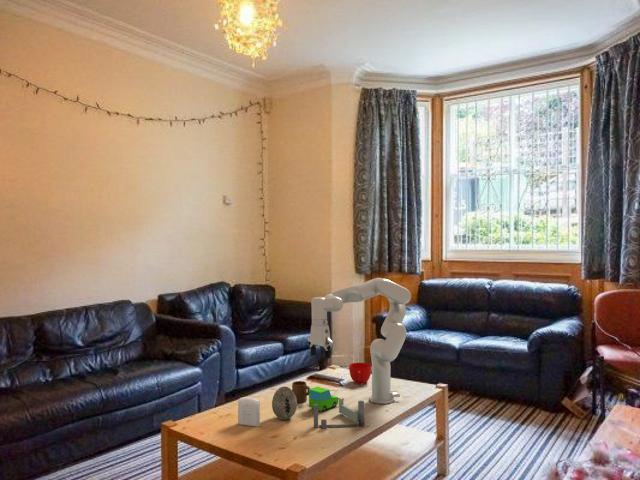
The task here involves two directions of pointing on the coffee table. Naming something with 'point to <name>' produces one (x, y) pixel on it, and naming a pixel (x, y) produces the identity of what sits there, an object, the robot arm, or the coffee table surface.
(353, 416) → the gate
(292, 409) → the decorative egg
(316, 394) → the green toy car
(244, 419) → the photo printer
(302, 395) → the mug
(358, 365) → the ceramic cup
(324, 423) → the gate posts
